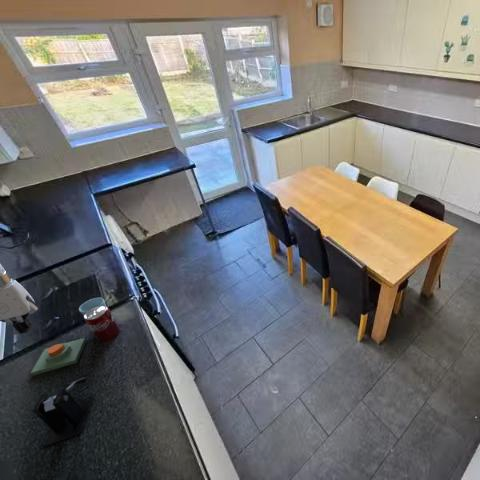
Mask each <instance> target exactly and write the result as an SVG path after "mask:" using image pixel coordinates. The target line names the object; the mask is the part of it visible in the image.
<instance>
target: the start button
mask: <svg viewBox="0 0 480 480" xmlns="http://www.w3.org/2000/svg"><path fill="white" fill-rule="evenodd" d="M48 348H49V350H48V353H49V354H50V356H55V355H57V354H59V353H61V352H62V351H63V350H64V348H63V346H62V345H61V343H56V344H54V345H52V346H51V348H50V347H48Z"/></svg>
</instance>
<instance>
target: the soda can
mask: <svg viewBox="0 0 480 480" xmlns="http://www.w3.org/2000/svg"><path fill="white" fill-rule="evenodd" d="M83 321H84V322H85V324H86V325H87V327H88V329H90V332H91V333H92V334H93V335H94V337H95V338H96V340H97V341H98V343H99V342H100V343H106V342H108V341H111V340H113V339H114V338H116V337H117V336H118V335H119V334H121V331H122V329H121V328H120V326H119V324H118V322H117V321H116V319H115V317H114V315H113V314H112V312H111V310H110V308H109V307H108V306H107V305H106V306H98V307H95V308H93V309H91V310H89V311H88V312H87V313H86V314H85V316H84V315H83Z"/></svg>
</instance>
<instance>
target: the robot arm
mask: <svg viewBox="0 0 480 480" xmlns="http://www.w3.org/2000/svg"><path fill="white" fill-rule="evenodd" d="M35 304H36V302H35V300H34V298H33V296H31V294H30V293H29V292H28V291H27V289H26V288H25V287H24V286H23V285H22V284H20V282H18V281H17V280H16V279H13V278H11V276H10V274H8V272H7V271H6V270H5V268H4V266H3V265H2V264H1V263H0V322H2V323H6V324H7V325H8V326H12V327H13V328H14V329H15V331H17V332H18V334H19V335H22V334H25V333H28V332H29V331H30V329H31V328H32V326H33V324H32V322H31V321H30V320H29V318H28V316H29V315H32V314H34V313H37V311H38V310H39V307H38V306H36V305H35Z"/></svg>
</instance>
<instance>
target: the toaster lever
mask: <svg viewBox="0 0 480 480" xmlns="http://www.w3.org/2000/svg"><path fill="white" fill-rule="evenodd" d="M86 382H87V378H86V377H82V378H79V379H76V380H72V381H69V382H67V383H66V384H65V389H66V390H67V392H68V393H70V392H71V391H72V390H73V389H75V388H76V386H78V385H81V384H84V383H86ZM56 396H57V394H56V395H52V396H49V398H48V399H47V400H46V401H45V402H43V406H44V409H45V412H46V411H49V410H52V409H55V407H54V406H53V402H54V400H55V398H56Z"/></svg>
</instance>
